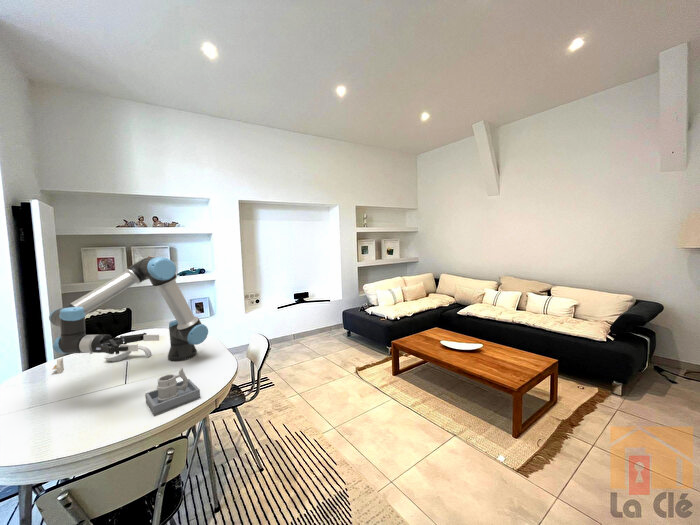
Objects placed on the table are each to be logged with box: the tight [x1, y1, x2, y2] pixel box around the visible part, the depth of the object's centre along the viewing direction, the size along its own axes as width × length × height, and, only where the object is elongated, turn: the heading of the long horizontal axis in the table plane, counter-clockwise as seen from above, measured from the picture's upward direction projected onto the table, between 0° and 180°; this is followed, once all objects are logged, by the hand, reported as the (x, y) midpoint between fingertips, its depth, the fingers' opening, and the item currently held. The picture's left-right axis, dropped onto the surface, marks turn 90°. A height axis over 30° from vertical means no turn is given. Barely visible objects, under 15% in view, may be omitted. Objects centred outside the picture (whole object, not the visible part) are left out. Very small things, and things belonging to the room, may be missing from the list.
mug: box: [156, 367, 189, 403], centre depth 122 cm, size 8×12×12 cm, turn 137°
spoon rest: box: [104, 345, 153, 363], centre depth 170 cm, size 24×12×7 cm, turn 100°
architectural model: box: [52, 357, 65, 375], centre depth 154 cm, size 3×7×8 cm, turn 38°
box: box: [144, 378, 201, 417], centre depth 122 cm, size 17×15×4 cm
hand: (148, 342), depth 121 cm, fingers open, 13 cm apart
